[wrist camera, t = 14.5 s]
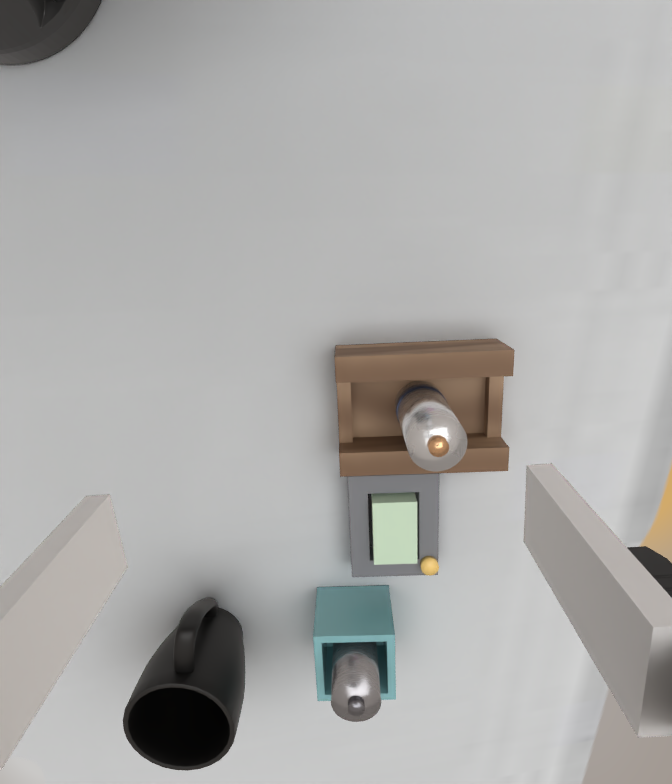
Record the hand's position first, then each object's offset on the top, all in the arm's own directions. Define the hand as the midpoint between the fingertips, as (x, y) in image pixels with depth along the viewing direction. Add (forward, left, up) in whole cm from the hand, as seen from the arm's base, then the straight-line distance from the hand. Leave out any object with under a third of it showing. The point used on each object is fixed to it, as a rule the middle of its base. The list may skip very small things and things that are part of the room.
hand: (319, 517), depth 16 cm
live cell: (+3, +6, -22) cm, 23 cm away
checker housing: (+13, +4, -23) cm, 27 cm away
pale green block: (+13, +4, -22) cm, 26 cm away
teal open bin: (+23, +1, -23) cm, 33 cm away
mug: (+23, -12, -24) cm, 35 cm away
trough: (+3, +6, -23) cm, 24 cm away
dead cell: (+23, +1, -23) cm, 32 cm away
